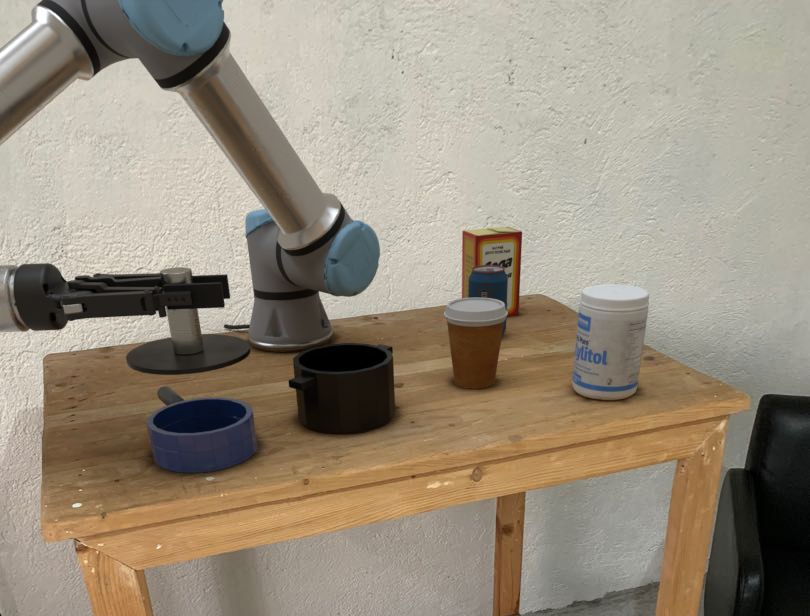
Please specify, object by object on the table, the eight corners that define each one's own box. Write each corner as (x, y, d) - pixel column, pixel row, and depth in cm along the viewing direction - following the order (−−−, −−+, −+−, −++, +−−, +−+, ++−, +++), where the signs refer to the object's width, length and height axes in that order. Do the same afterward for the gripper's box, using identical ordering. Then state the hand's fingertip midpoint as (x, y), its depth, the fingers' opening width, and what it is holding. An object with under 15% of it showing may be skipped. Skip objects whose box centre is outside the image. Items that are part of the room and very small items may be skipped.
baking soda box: (474, 320, 155) (475, 233, 147) (461, 312, 160) (462, 228, 152) (518, 315, 158) (522, 229, 150) (504, 307, 163) (507, 224, 155)
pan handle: (156, 400, 114) (153, 386, 113) (171, 397, 115) (169, 382, 114) (180, 422, 106) (177, 406, 105) (195, 418, 107) (193, 403, 106)
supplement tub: (559, 393, 119) (566, 293, 111) (591, 376, 125) (599, 280, 117) (619, 407, 113) (631, 302, 106) (649, 388, 119) (662, 288, 112)
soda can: (496, 329, 149) (498, 262, 143) (512, 338, 144) (514, 270, 138) (462, 333, 148) (462, 266, 142) (476, 343, 142) (477, 273, 136)
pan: (141, 446, 106) (133, 411, 103) (234, 424, 112) (229, 390, 109) (173, 482, 96) (165, 444, 93) (273, 455, 102) (268, 419, 99)
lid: (102, 365, 97) (82, 275, 91) (198, 336, 107) (185, 253, 101) (180, 388, 89) (163, 290, 83) (276, 354, 99) (266, 265, 93)
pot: (265, 426, 111) (257, 367, 106) (354, 387, 123) (350, 333, 119) (338, 449, 103) (333, 386, 99) (424, 405, 116) (423, 347, 112)
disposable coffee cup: (502, 393, 119) (504, 313, 113) (439, 391, 121) (438, 311, 115) (507, 373, 127) (510, 297, 121) (449, 371, 129) (449, 296, 123)
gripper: (-14, 280, 84) (208, 272, 85) (42, 251, 98) (231, 244, 99) (6, 350, 88) (218, 342, 88) (56, 312, 102) (239, 305, 103)
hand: (225, 290), depth 94 cm, fingers closed on lid, 4 cm apart
